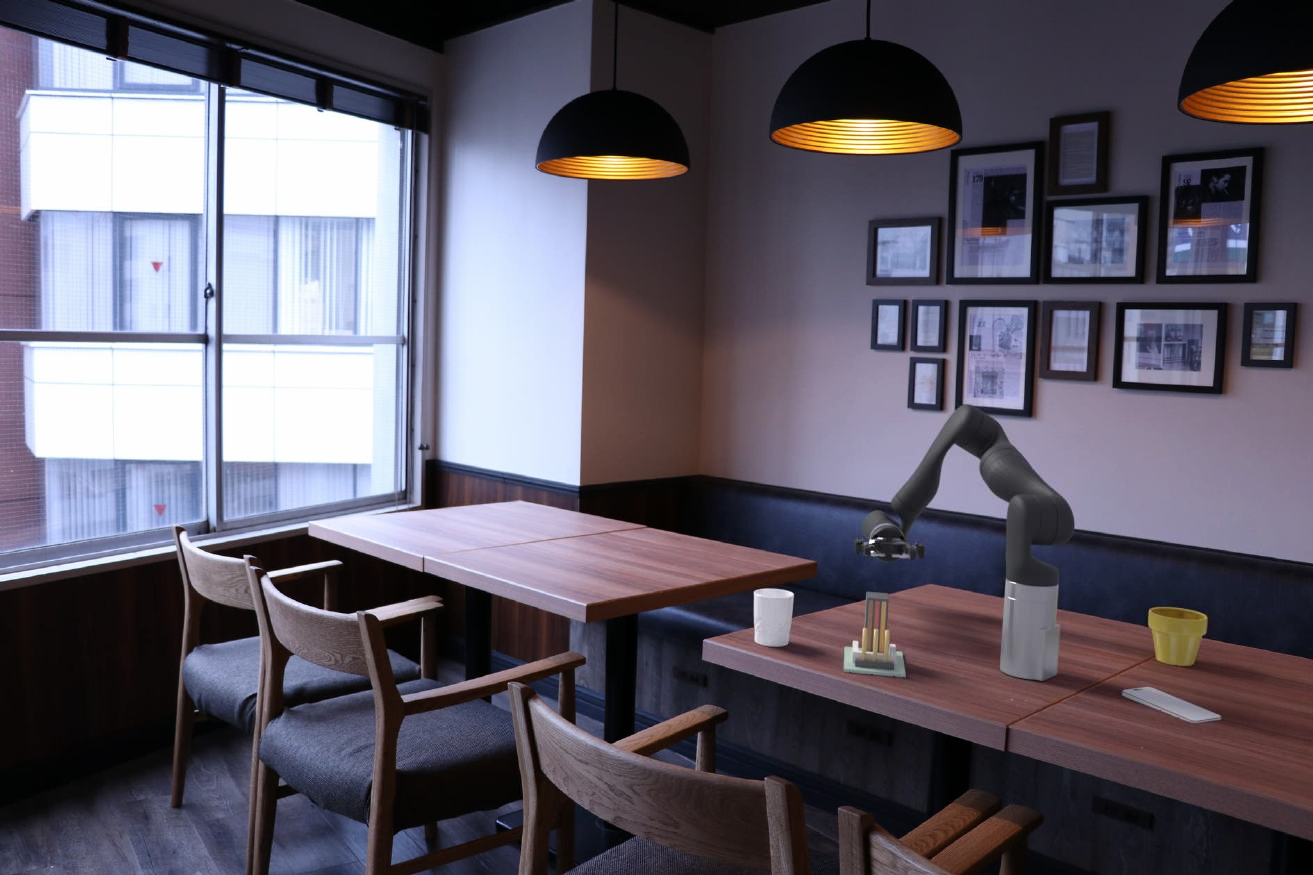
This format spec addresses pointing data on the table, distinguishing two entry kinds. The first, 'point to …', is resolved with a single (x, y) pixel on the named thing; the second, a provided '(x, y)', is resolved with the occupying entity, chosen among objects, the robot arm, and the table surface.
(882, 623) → the block
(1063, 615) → the table surface
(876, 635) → the header board
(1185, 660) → the plant pot
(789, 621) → the white cup
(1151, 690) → the smartphone
